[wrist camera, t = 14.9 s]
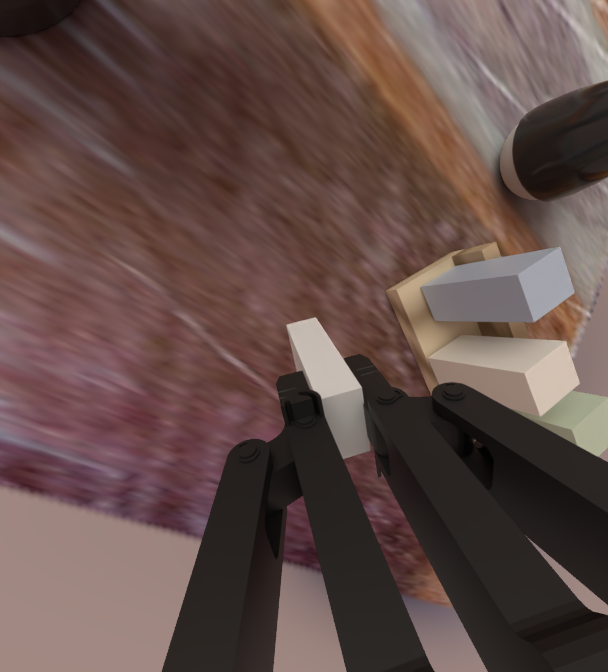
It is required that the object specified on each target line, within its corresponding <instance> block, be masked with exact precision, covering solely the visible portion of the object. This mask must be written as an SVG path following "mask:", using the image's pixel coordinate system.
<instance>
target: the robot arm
mask: <svg viewBox="0 0 608 672" xmlns="http://www.w3.org/2000/svg"><path fill="white" fill-rule="evenodd" d="M79 1H80V0H0V36H16V35H24V34H29V33H34V32H37V31H41V30H43V29H46V28H48V27H50V26H52V25H54V24H56V23H58V22H59V21H61V20H62V19H63V18H65V17H66V16H67V15H68V14H69V13H70V12H71V11H72V10H73V9H74V8H75V7H76V6H77V4H78V3H79ZM286 326H287V331H288V335H289V339H290V344H291V348H292V352H293V357H294V361H295V366H296V370H297V372H294V373H291V374H287V375H283V376H280V377H279V378H278V381H277V383H276V386H277V391H278V395H279V399H280V403H281V409H282V413H283V417H284V421H285V426H284V429H283V431H282V432H281V433H280V434H279V435H278V436H277V437H276V438H275V439H273V440H272V441H270V442H268V443H266V442H265V441H263V440H260V439H250V440H246V441H243V442H241V443H239V444H238V445H236V446H235V447H234V448H233V449H232V450H231V451H230V453H229V455H228V457H227V460H226V463H225V467H224V470H223V473H222V476H221V480H220V483H219V486H218V489H217V493H216V496H215V499H214V502H213V506H212V509H211V512H210V516H209V519H208V522H207V525H206V529H205V532H204V535H203V538H202V542H201V545H200V548H199V551H198V555H197V558H196V561H195V565H194V568H193V571H192V575H191V578H190V581H189V584H188V587H187V591H186V594H185V597H184V600H183V604H182V607H181V610H180V613H179V617H178V620H177V624H176V627H175V630H174V633H173V637H172V640H171V643H170V646H169V649H168V653H167V656H166V659H165V662H164V666H163V669H162V672H273V665H274V654H275V642H276V631H277V619H278V608H279V597H280V585H281V574H282V563H283V551H284V540H285V529H286V517H287V506H288V505H289V504H291V503H292V502H294V501H295V500H297V499H298V498H300V497H301V496H303V497H304V501H305V505H306V509H307V513H308V517H309V521H310V525H311V529H312V533H313V537H314V541H315V546H316V550H317V554H318V558H319V562H320V566H321V570H322V574H323V578H324V582H325V586H326V590H327V594H328V598H329V602H330V606H331V610H332V614H333V618H334V622H335V626H336V630H337V634H338V638H339V642H340V646H341V650H342V654H343V658H344V663H345V667H346V670H347V672H434V670H433V668H432V667H431V665H430V663H429V661H428V658H427V656H426V654H425V651H424V649H423V647H422V644H421V642H420V640H419V637H418V635H417V632H416V630H415V628H414V626H413V623H412V621H411V618H410V616H409V614H408V612H407V609H406V607H405V604H404V602H403V600H402V597H401V595H400V592H399V590H398V588H397V585H396V583H395V581H394V578H393V576H392V573H391V571H390V569H389V566H388V564H387V562H386V559H385V557H384V555H383V552H382V550H381V548H380V545H379V543H378V540H377V538H376V536H375V533H374V531H373V529H372V526H371V524H370V522H369V519H368V517H367V514H366V512H365V510H364V507H363V505H362V503H361V500H360V498H359V496H358V493H357V491H356V489H355V486H354V484H353V481H352V479H351V477H350V474H349V472H348V470H347V467H346V465H345V463H344V460H343V459H345V458H348V457H351V456H355V455H358V454H361V453H365V452H368V451H371V450H370V442H371V444H372V446H373V447H374V452H375V460H376V467H377V474H378V477H381V471H382V473H383V475H384V477H385V479H386V481H387V482H388V484H389V486H390V488H391V490H392V492H393V494H394V496H395V498H396V499H397V501H398V503H399V505H400V507H401V509H402V511H403V513H404V514H405V516H406V518H407V520H408V522H409V524H410V526H411V528H412V530H413V531H414V533H415V535H416V537H417V539H418V541H419V543H420V545H421V547H422V548H423V550H424V552H425V554H426V556H427V558H428V560H429V562H430V564H431V565H432V567H433V569H434V571H435V573H436V575H437V577H438V579H439V580H440V582H441V584H442V586H443V588H444V590H445V592H446V594H447V596H448V597H449V599H450V601H451V603H452V605H453V607H454V609H455V611H456V613H457V614H458V616H459V618H460V620H461V622H462V624H463V625H464V628H465V629H466V631H467V633H468V635H469V637H470V639H471V641H472V643H473V645H474V646H475V648H476V650H477V652H478V654H479V656H480V658H481V660H482V662H483V663H484V665H485V667H486V669H487V671H488V672H608V615H605V614H601V613H597V612H593V611H591V610H590V609H588V608H587V607H585V605H584V604H583V603H582V602H581V601H580V600H579V599H578V598H577V597H576V596H575V594H574V593H573V592H572V591H571V590H570V589H569V587H568V586H567V585H566V584H565V583H564V582H563V580H562V579H561V578H560V577H559V575H558V574H557V573H556V572H555V571H554V569H552V567H551V566H550V565H549V564H548V562H547V561H546V560H545V559H544V558H543V556H542V555H541V554H540V553H539V552H538V550H537V549H536V548H535V547H534V546H533V544H532V543H531V542H530V541H529V540H528V538H529V539H530V540H531V541H533V542H534V543H535V544H536V545H538V546H539V547H540V548H541V549H542V550H543V551H544V552H546V553H547V554H548V555H549V556H550V557H552V558H553V559H554V560H555V561H556V562H558V563H559V564H560V565H561V566H562V567H563V568H565V569H566V570H567V571H568V572H569V573H571V574H572V575H573V576H574V577H575V578H576V579H578V580H579V581H580V582H581V583H582V584H584V585H585V586H586V587H587V588H588V589H589V590H591V591H592V592H593V593H594V594H595V595H597V596H598V597H599V598H600V599H601V600H603V601H604V602H605V603H606V604H607V605H608V462H606V461H605V460H603V459H601V458H599V457H597V456H596V455H594V454H592V453H590V452H588V451H586V450H585V449H583V448H581V447H579V446H577V445H575V444H574V443H572V442H570V441H568V440H566V439H564V438H563V437H561V436H559V435H557V434H555V433H553V432H552V431H550V430H548V429H546V428H544V427H542V426H541V425H539V424H537V423H535V422H533V421H531V420H530V419H528V418H526V417H524V416H522V415H521V414H519V413H517V412H515V411H513V410H511V409H510V408H508V407H506V406H504V405H502V404H500V403H499V402H497V401H495V400H493V399H491V398H489V397H488V396H486V395H484V394H482V393H480V392H478V391H477V390H475V389H473V388H471V387H469V386H467V385H464V384H462V383H456V382H448V383H443V384H439V385H437V386H436V387H435V388H434V389H433V391H432V396H430V397H408V395H407V394H406V393H405V392H404V391H402V390H401V389H398V388H395V387H391V386H390V384H389V383H388V382H387V381H386V379H385V378H384V377H383V376H382V374H381V373H380V372H379V371H378V369H377V368H376V367H375V366H374V364H373V363H372V362H371V361H370V359H369V358H367V357H365V356H363V355H360V354H358V355H354V356H351V357H347V358H342V356H341V355H340V353H339V352H338V350H337V349H336V347H335V346H334V344H333V343H332V341H331V340H330V338H329V337H328V335H327V334H326V332H325V331H324V329H323V327H322V326H321V324H320V323H319V321H318V320H317V318H316V317H315V318H311V319H307V320H303V321H299V322H295V323H292V324H288V325H286ZM369 440H370V442H369ZM475 440H476V441H478V442H479V443H480V444H479V443H477V442H476V441H475ZM481 444H482V445H481ZM525 535H526V536H527V537H528V538H527V537H526V536H525Z"/></svg>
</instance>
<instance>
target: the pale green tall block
mask: <svg viewBox="0 0 608 672" xmlns="http://www.w3.org/2000/svg"><path fill="white" fill-rule="evenodd" d="M511 410H513V411H515V412H517V413H519V414H521V415H522V416H524V417H526V418H528V419H530V420H531V421H533V422H535V423H537V424H539V425H541V426H542V427H544V428H546V429H548V430H550V431H552V432H553V433H555V434H557V435H559V436H561V437H563V438H564V439H566V440H568V441H570V442H572V443H574V444H575V445H577V446H579V447H581V448H583V449H585V450H586V451H588V452H590V453H592V454H594V455H596V456H597V457H598V456H599V455H600V454H601V453H602V452H603V451H604V450H606V449H607V448H608V397H604V396H598V395H592V394H587V393H582V392H576V391H570V392H569V393H568V394H567V395H566V396H564V397H563V398H562V399H561V400H560V401H559V402H557V403H556V404H555V405H554V406H553V407H551V408H550V409H549V410H548V411H547V412H546V413H544V414H543V415H542V416H541V417H539V416H536V415H532V414H528V413H525V412H521V411H517V410H514V409H511Z"/></svg>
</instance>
